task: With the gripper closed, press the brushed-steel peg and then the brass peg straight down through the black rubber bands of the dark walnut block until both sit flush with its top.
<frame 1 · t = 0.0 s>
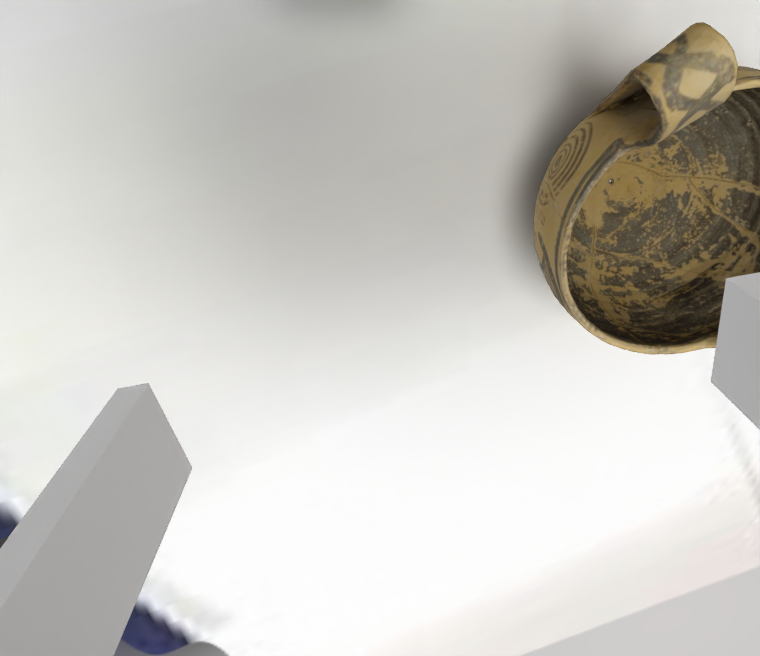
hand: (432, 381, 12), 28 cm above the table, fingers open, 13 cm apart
ceramic bowl: (622, 188, 38), on the table
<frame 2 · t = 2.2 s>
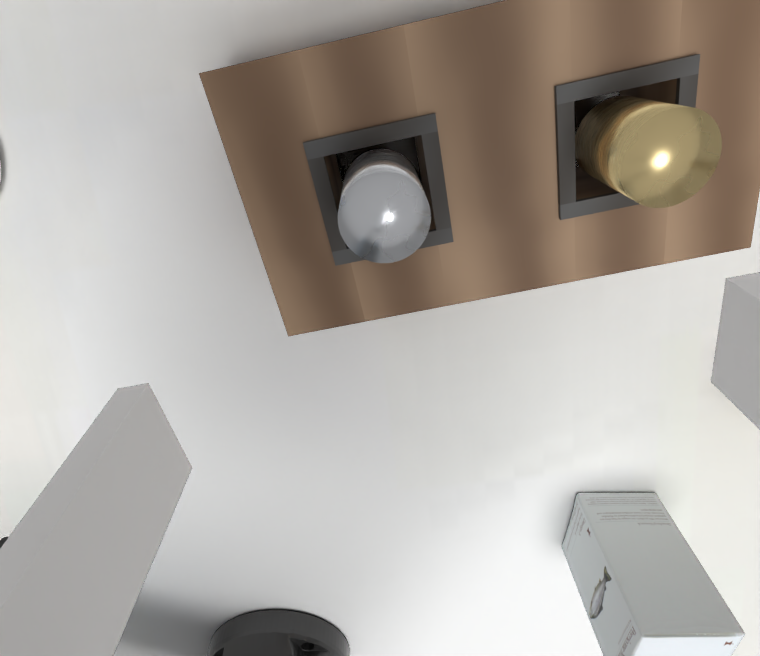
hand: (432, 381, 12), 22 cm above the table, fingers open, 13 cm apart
steel peg: (382, 202, 24), point 8 cm above the table, slide at 0.0 cm
supplement box: (604, 517, 47), on the table
brass peg: (639, 148, 23), point 8 cm above the table, slide at 0.0 cm
walnut block: (477, 147, 30), on the table
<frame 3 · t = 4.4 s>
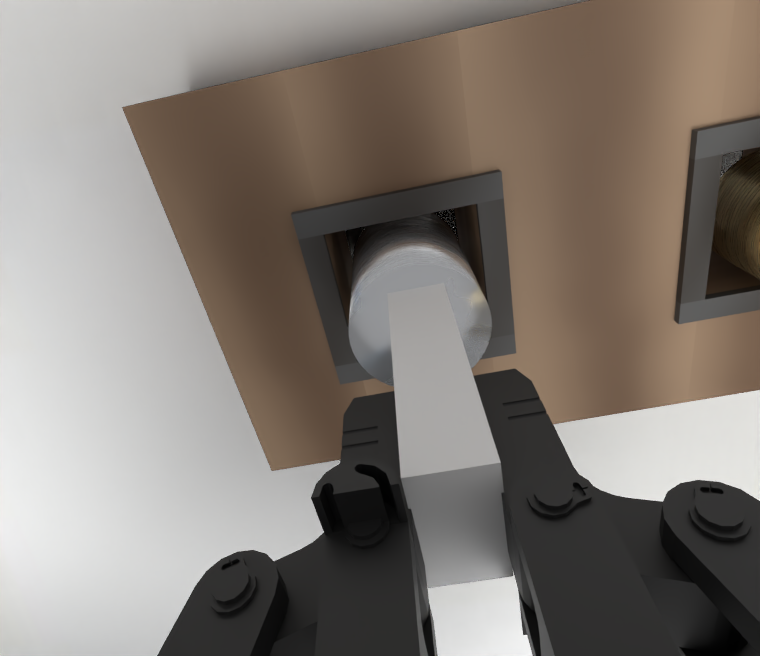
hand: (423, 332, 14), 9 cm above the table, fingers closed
steel peg: (412, 290, 17), point 6 cm above the table, slide at 1.4 cm, touching gripper
walnut block: (538, 202, 22), on the table
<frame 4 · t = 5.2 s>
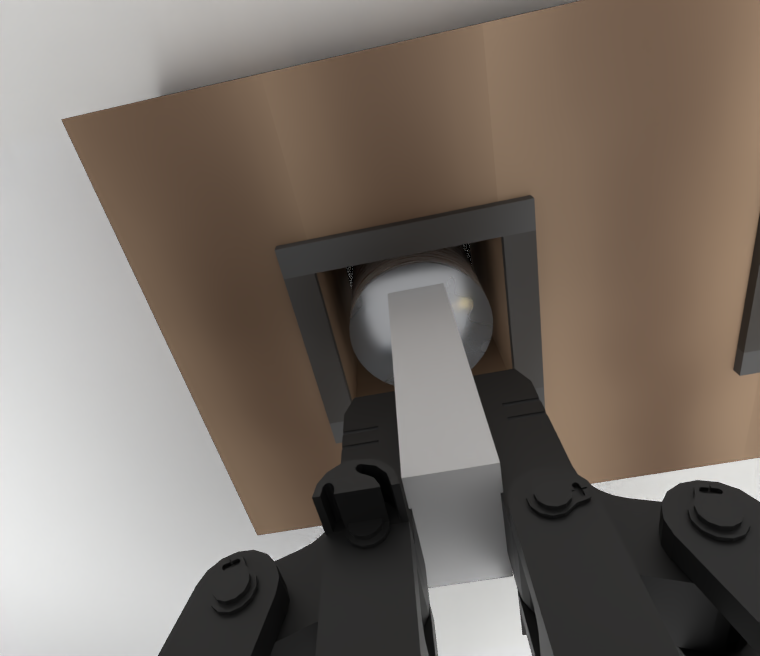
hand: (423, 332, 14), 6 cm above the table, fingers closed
steel peg: (413, 289, 16), point 3 cm above the table, slide at 4.5 cm, touching gripper
walnut block: (565, 223, 19), on the table
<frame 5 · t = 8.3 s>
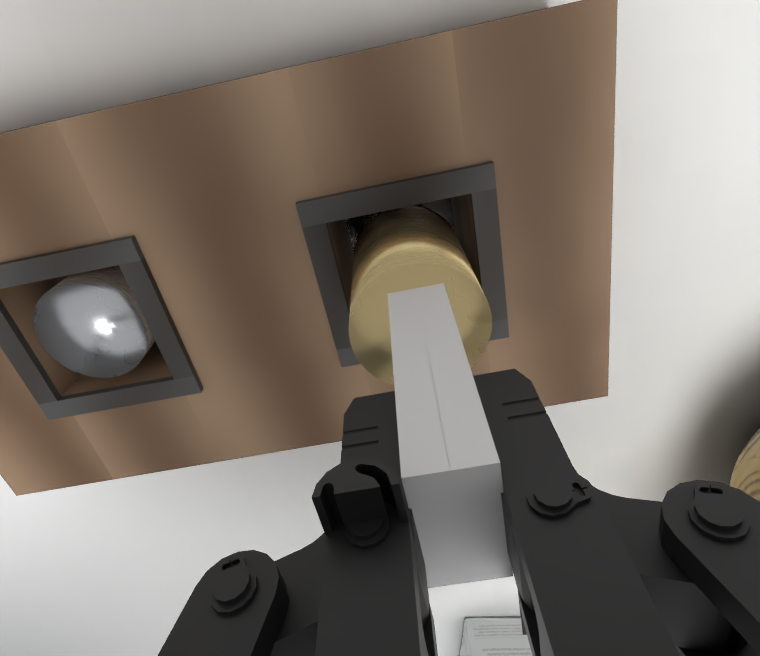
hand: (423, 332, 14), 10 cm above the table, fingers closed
steel peg: (121, 300, 21), point 3 cm above the table, slide at 4.5 cm
supplement box: (503, 640, 40), on the table
brass peg: (412, 289, 17), point 7 cm above the table, slide at 0.3 cm, touching gripper
walnut block: (272, 246, 23), on the table
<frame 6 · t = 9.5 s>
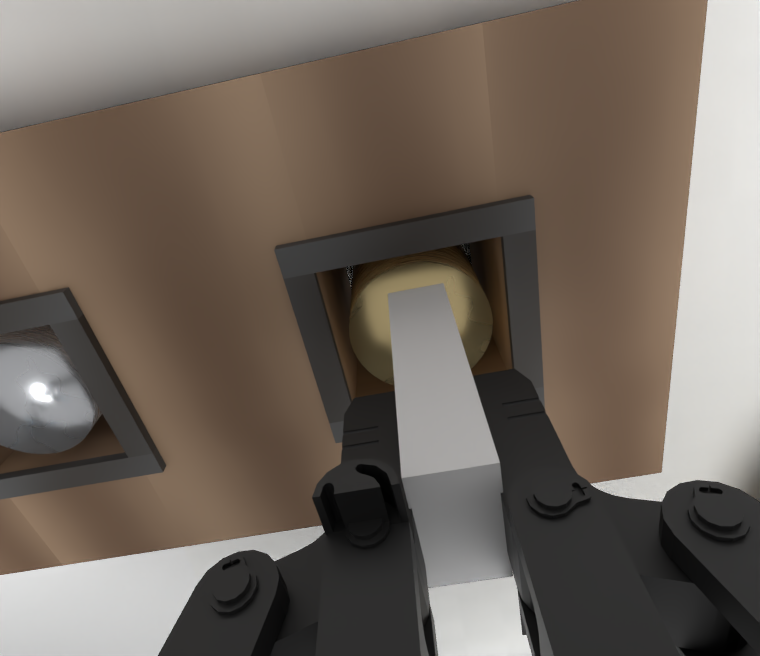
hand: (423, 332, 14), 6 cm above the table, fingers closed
steel peg: (69, 354, 17), point 3 cm above the table, slide at 4.5 cm
brass peg: (413, 289, 16), point 3 cm above the table, slide at 4.5 cm, touching gripper
walnut block: (255, 283, 20), on the table
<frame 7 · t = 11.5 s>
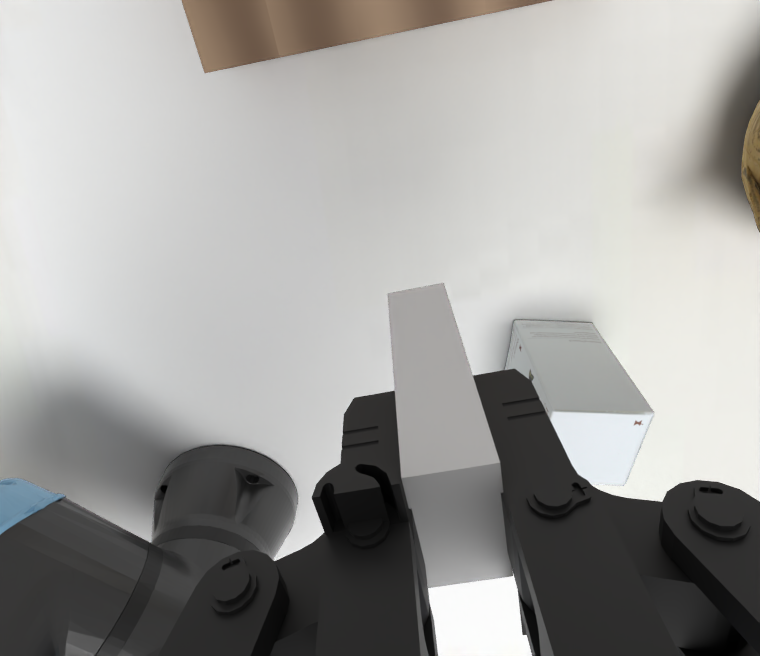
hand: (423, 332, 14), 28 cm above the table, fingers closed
supplement box: (543, 352, 47), on the table
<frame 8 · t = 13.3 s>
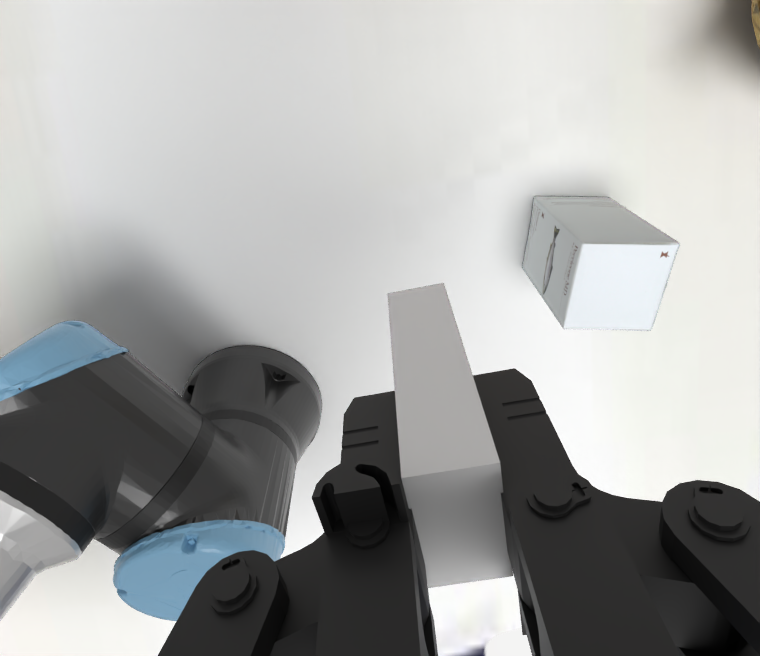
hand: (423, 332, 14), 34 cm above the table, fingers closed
supplement box: (562, 232, 49), on the table
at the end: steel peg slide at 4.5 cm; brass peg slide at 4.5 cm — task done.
